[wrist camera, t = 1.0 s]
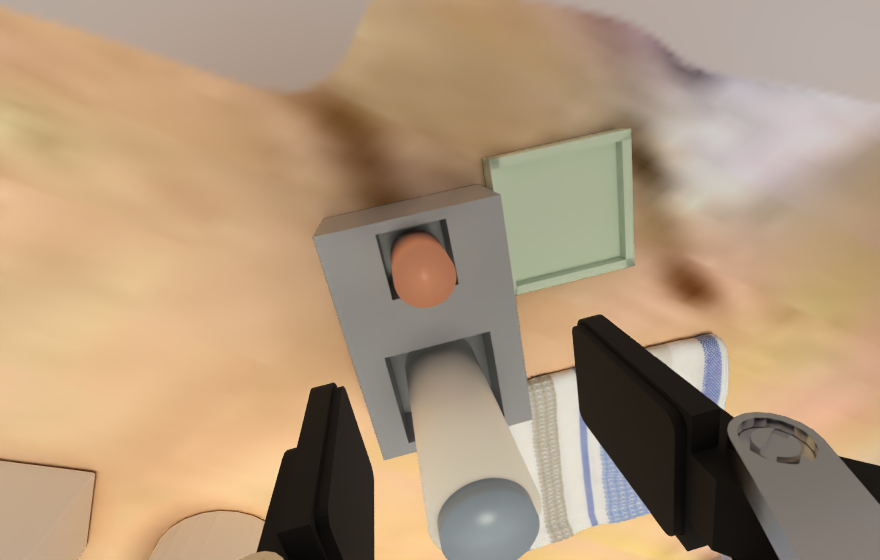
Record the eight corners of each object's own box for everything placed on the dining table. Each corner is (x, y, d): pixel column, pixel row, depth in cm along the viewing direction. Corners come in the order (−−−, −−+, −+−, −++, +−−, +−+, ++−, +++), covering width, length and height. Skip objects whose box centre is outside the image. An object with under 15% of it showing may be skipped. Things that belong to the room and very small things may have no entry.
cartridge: (468, 324, 27) (542, 471, 15) (479, 383, 29) (554, 557, 17) (397, 342, 27) (418, 507, 15) (413, 401, 29) (443, 591, 17)
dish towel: (705, 478, 40) (728, 503, 37) (472, 546, 38) (479, 577, 35) (715, 323, 34) (743, 338, 31) (436, 394, 32) (442, 418, 29)
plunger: (437, 224, 22) (450, 241, 19) (448, 274, 24) (461, 299, 20) (384, 237, 22) (386, 256, 19) (397, 287, 23) (401, 314, 20)
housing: (478, 183, 26) (500, 194, 22) (509, 377, 32) (532, 419, 27) (323, 218, 26) (312, 237, 21) (382, 411, 31) (383, 460, 26)
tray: (615, 128, 26) (631, 128, 25) (620, 258, 30) (634, 265, 28) (481, 158, 26) (488, 159, 24) (501, 288, 29) (509, 296, 27)
